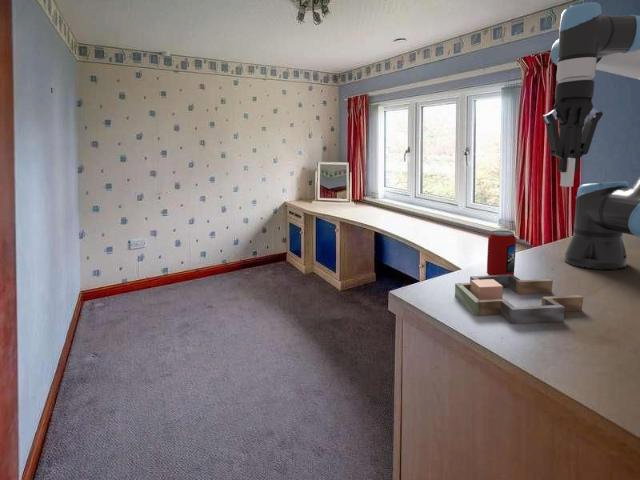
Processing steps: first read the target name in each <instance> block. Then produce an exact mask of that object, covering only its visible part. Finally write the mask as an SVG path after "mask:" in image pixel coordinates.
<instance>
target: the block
mask: <svg viewBox="0 0 640 480" xmlns="http://www.w3.org/2000/svg"><path fill="white" fill-rule="evenodd" d="M503 291H504V288H503V286H502V285H501V284H499V283H498V282H496V281H495V280H494V279H484V280H471V293H472V294H473V295H474V296H475V297H476V298H477V299H479V300H488V299H503Z"/></svg>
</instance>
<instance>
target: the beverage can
mask: <svg viewBox="0 0 640 480" xmlns="http://www.w3.org/2000/svg"><path fill="white" fill-rule="evenodd" d="M487 240H488V241H487V257H486V258H487V261H486V274H487V276H488V275H509V274H512V275H514V276H515V267H516V266H515V265H516V264H515V263H516V252H517V251H516V249H517V238H516V236H515V234H514V231H510V230H502V229H500V230H492V231H491V233H490V235H489V236H488V239H487Z"/></svg>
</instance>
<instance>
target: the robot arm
mask: <svg viewBox="0 0 640 480" xmlns="http://www.w3.org/2000/svg"><path fill="white" fill-rule="evenodd" d="M602 14H603V12H602V5H601V4H600V3H599V2H594V1H592V2H590V1H589V2H583V3H577V4H575V5H570V6H569V7H567V8H566V9H564V10H563V12H562V13H561V16H560V17H561V18H560V22H559V30H558V33H559V34H558V39H557V40H555V42H554V43H553V44H552V47H551V51H550V58H551V61H552V62H553V64H554V65H555V66H557V68H556V69H557V70H556V77H555V78H556V81H557V82H558V83H557V84H556V85H555V91H554V102H555V103H554V105H553V107H552V110H551V111H550V112H548V113H546V114H543V115H542V120H543V123H544V124H545V128H546V131H547V132H546V134H547V139H548V143H549V144H548V145H549V150H550V155H551V156H553V157H556V158H557V159H558V167H557V169H558V170H557V171H558V172H559V173H560V184H559V186H560V187H566V188H568V187H574V179H575V173H576V172H578V169H579V168H578V167H579V159H580V158H582V157H583V156H584V155H585V156H586V155H588V153H589V151H590V148H591V144H592V142H593V138H594V135H595V132H596V128H597V125H598V123H599V121H600V119H602V117H603V111H598V110H596V109H595V108H594V105H593V101H592V100H593V97H594V93H595V91H594V90H595V80H594V78H595V77H596V71H601V72H606V73H610V74H614V75H619V76H622V77H627V78H631V79H636V80H639V81H640V15H636V14H630V15H604V14H603V15H602ZM585 119H586V121H585ZM557 120H558V121H559V122H557ZM574 207H575V208H574V209H575V210H574V223H573V234H572V237H571V239H570V241H569V244H568V245H567V248H566V250H565V252H564V259H563V260H565V261H566V262H565V261H564V262H565V263H567V264H569V265H573V266H575V267H579V266H580V267H581V268H584V267H586V268H585V269H591V268H593V269H592V270H603V269H613V270H619V269H618V268H622V267H625V266H626V265H627V266H628V255H627V251H626V247H625V245H624V240H623V235H624V234H626V235H631V236H636V237H637V238H640V176H639V177H638V178H637V180H636V181H635V182H634V183H633V185H632V186H631V187H630V186H629V183H628V181H607V182H596V183H595V182H593V183H584V184H580V185H579V187H578V188H577V194H576V196H575V206H574ZM627 266H626V267H627ZM626 267H625V268H626ZM622 269H623V268H622Z"/></svg>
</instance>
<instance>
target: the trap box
mask: <svg viewBox="0 0 640 480" xmlns="http://www.w3.org/2000/svg"><path fill="white" fill-rule="evenodd" d="M469 278H470V279H469V282H459V283H455V285H454V296H455V297H456V298H457V299H458V300H459V302H460V303H462V304H463V305H464V307H466V309H468V311H469V312H470V313H472V314H473V315H474V316H475V317H480V316H498V315H501V316H502V317H503V318H504V319H506V321H508V323H510V324H511V325H514V324H515V325H517V324H534V323H535V324H536V323H537V324H538V323H554V322H557V323H558V322H564V320H565V319H564V317H565V312H580V311H581V312H582V311H583V302H584V296H582V295H580V294H575V295H573V294H572V295H571V294H570V295H554V296H553V295H552V296H551V295H550V296H542V297H541V305H534V306H529V305H528V306H515V305H514V304H512V303H511V302H509V301H508V300H507V299H506V298H502V299H488V300H479V299H477V298H476V297H475V296H474V295H473V294H472V293H471V280H484V279H494V280H495V281H496V282H498V283H499V284H501V285H502V286H503V289H508V288H509V289H510V290H511V291H513V292H515V293H516V294H517V295H527V294H528V295H529V294H530V295H533V294H547V293H549V294H550V293H551V294H553V283H554V282H553V280H552V279H551V278H543V279H541V278H540V279H539V278H538V279H520V278H519V277H517V276H515V274H514V275H512V274H509V275H488V274H487V275H471V276H470V277H469Z"/></svg>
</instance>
